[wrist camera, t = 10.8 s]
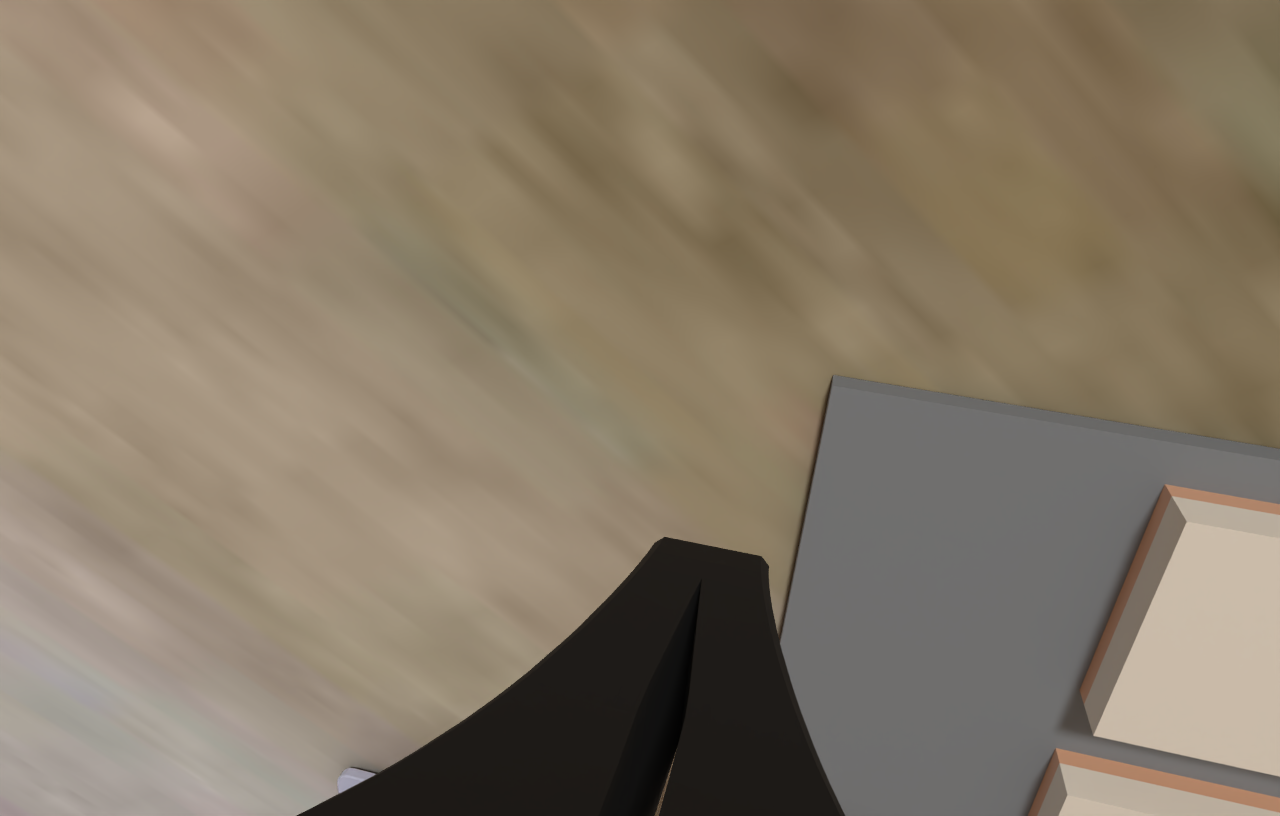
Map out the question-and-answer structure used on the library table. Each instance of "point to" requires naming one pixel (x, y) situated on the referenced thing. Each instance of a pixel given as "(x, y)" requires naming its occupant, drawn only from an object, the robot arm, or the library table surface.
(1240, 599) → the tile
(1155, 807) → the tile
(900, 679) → the slate mat
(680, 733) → the robot arm
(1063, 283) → the library table surface
